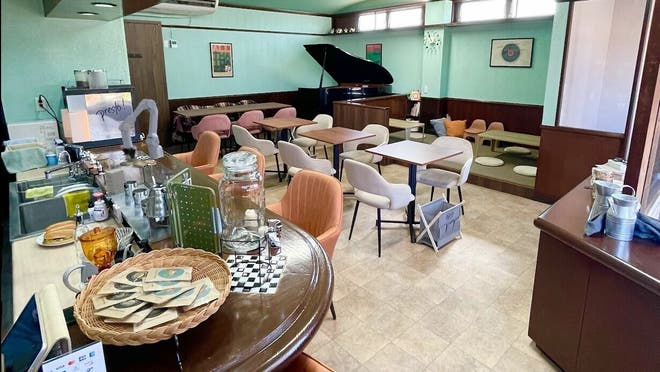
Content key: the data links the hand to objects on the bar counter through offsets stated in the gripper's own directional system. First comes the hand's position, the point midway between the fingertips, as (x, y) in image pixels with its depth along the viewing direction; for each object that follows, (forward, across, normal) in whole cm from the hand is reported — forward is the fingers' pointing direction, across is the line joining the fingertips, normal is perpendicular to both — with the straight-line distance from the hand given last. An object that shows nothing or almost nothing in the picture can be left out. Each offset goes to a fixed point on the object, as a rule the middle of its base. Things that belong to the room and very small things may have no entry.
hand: (130, 158), depth 295 cm
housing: (+1, 0, 0) cm, 1 cm away
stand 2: (+4, +14, 0) cm, 15 cm away
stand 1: (+4, 0, 0) cm, 4 cm away
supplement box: (+4, +51, -50) cm, 72 cm away
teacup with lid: (+4, -2, -19) cm, 20 cm away
